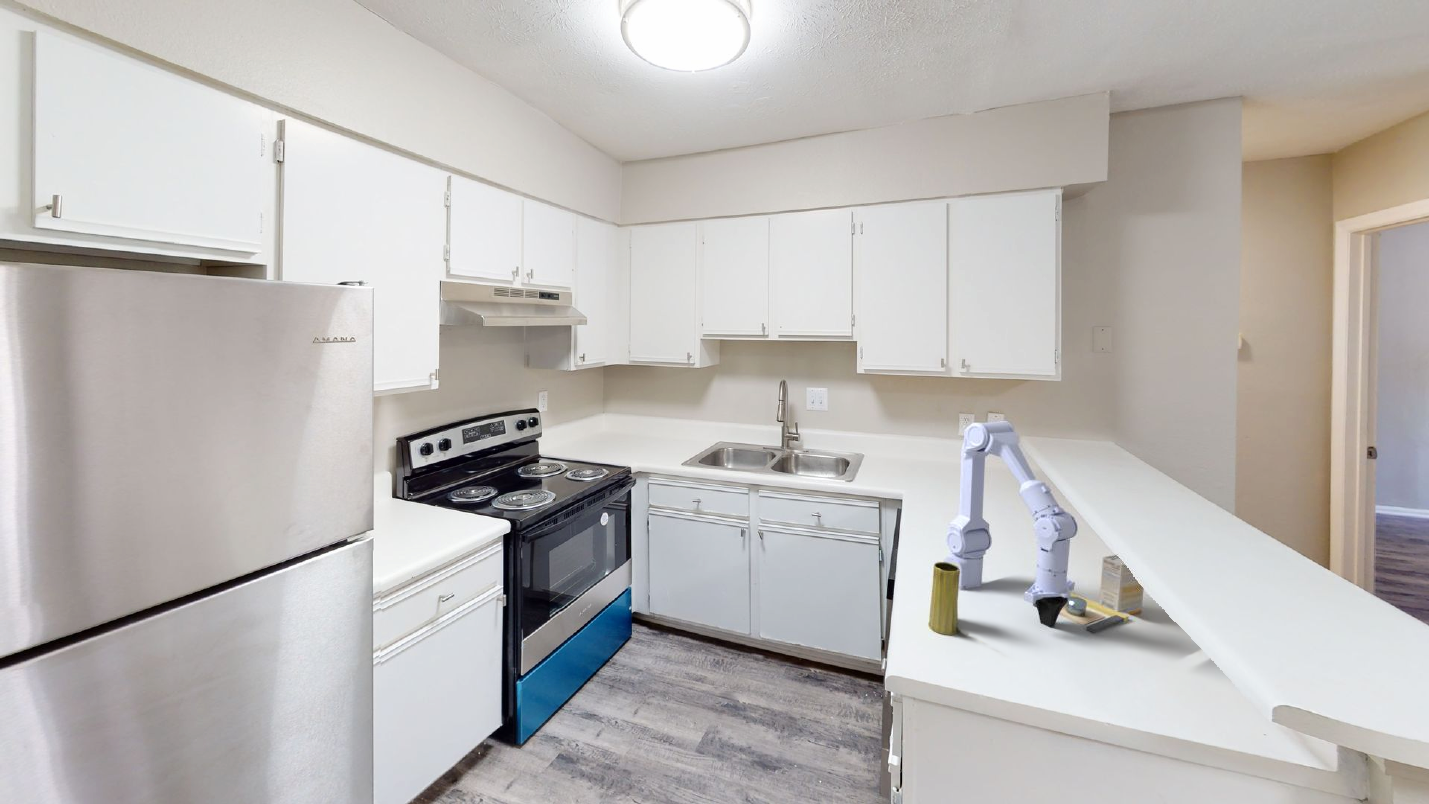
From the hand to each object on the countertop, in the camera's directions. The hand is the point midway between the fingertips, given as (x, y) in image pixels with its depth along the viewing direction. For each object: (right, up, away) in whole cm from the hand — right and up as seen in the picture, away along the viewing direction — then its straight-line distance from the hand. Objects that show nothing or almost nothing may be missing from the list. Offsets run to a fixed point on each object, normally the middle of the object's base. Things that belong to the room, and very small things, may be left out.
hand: (1047, 626), depth 124 cm
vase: (-22, -1, +1) cm, 23 cm away
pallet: (+10, -1, +5) cm, 11 cm away
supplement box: (+23, 0, +9) cm, 25 cm away
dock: (+10, 0, +5) cm, 12 cm away
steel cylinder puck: (+10, +1, +5) cm, 11 cm away
